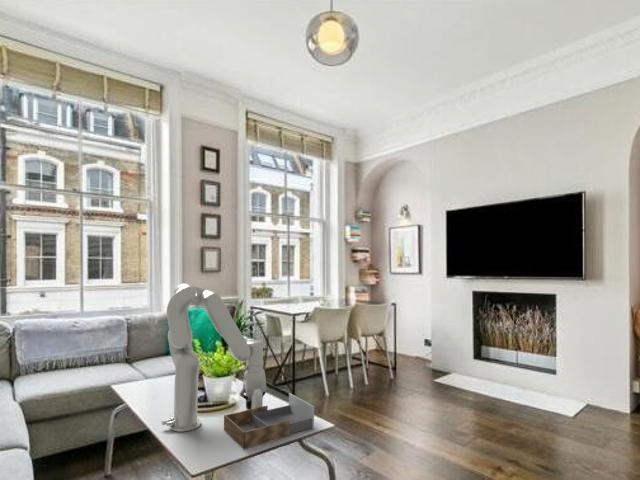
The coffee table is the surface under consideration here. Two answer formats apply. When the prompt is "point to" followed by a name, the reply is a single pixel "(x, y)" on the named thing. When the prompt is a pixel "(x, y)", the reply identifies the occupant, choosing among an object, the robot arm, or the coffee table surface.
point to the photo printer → (256, 399)
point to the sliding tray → (287, 415)
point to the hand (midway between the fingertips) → (253, 407)
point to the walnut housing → (256, 435)
